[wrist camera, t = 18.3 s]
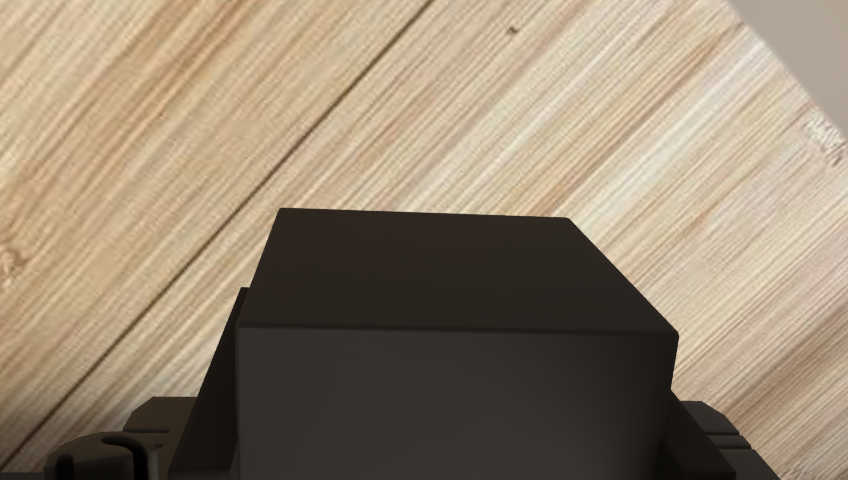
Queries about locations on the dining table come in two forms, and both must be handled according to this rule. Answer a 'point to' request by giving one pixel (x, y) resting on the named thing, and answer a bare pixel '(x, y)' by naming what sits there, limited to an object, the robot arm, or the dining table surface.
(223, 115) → the dining table surface
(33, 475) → the base frame
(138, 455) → the robot arm
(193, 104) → the dining table surface
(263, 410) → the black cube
